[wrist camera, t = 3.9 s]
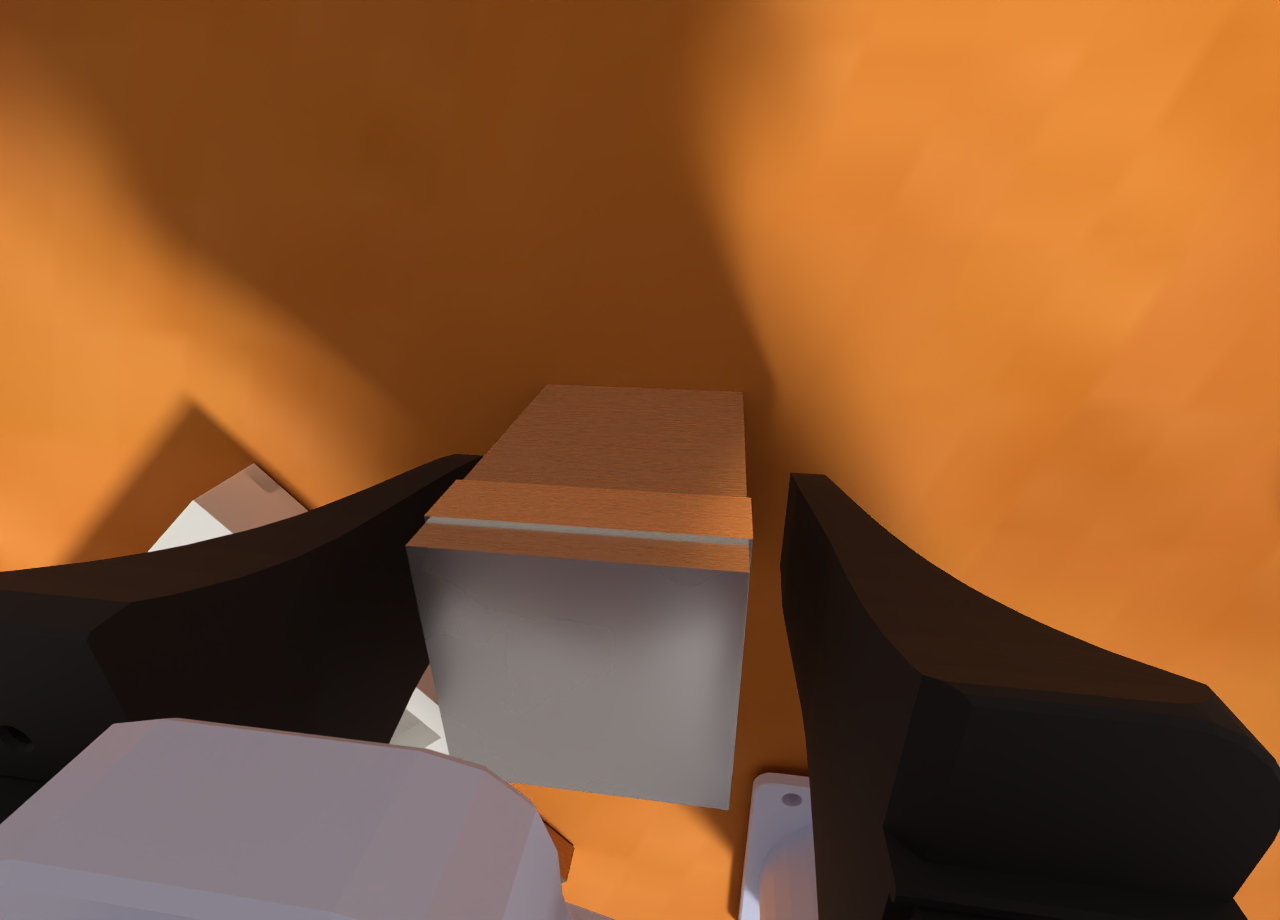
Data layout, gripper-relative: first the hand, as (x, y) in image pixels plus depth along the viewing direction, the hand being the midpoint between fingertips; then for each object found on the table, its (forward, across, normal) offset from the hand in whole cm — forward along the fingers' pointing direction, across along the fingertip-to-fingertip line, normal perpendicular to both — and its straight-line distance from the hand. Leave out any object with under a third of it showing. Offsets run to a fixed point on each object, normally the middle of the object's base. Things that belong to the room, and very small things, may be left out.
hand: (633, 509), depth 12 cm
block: (+2, 0, 0) cm, 2 cm away
